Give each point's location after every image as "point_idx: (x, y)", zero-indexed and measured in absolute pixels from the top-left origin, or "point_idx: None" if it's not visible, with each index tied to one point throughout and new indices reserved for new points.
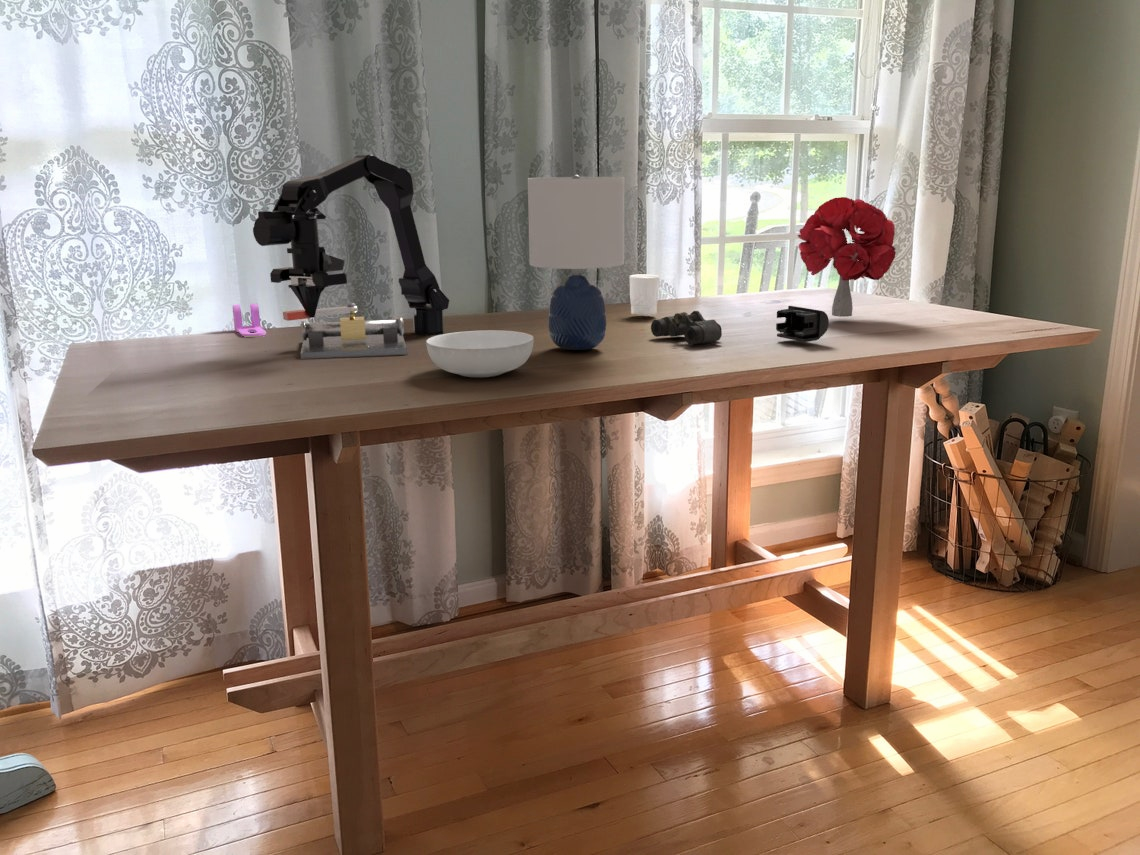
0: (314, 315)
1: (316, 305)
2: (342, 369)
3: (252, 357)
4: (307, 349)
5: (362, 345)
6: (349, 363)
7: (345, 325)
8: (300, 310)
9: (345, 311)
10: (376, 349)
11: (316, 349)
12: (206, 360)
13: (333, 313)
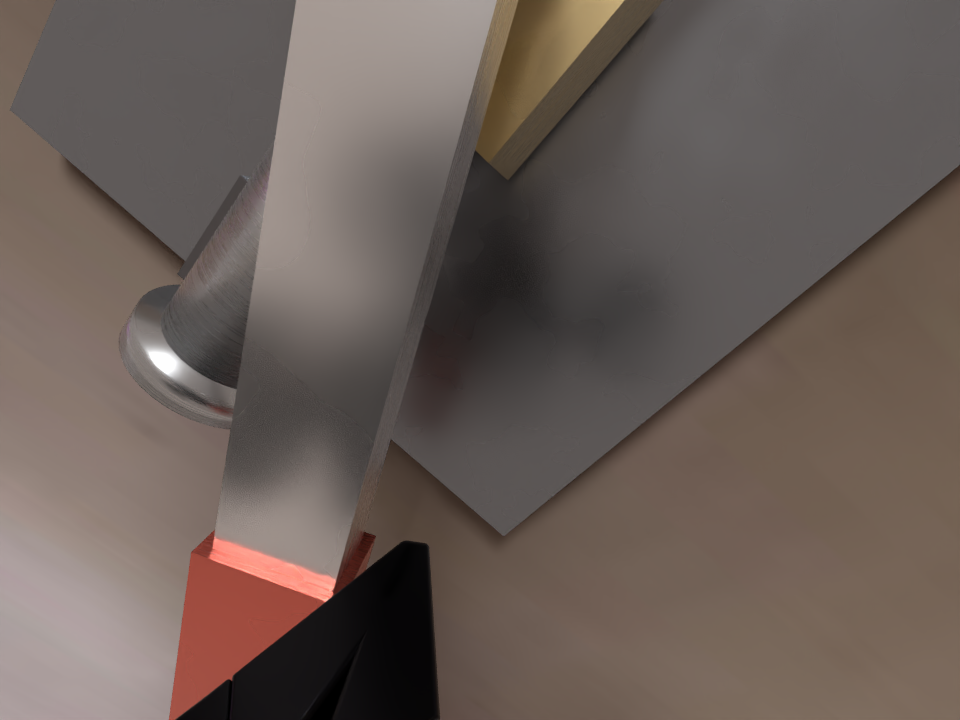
0: (427, 558)
1: (433, 672)
2: (917, 582)
3: None
4: (447, 442)
5: (706, 112)
6: (850, 452)
7: (538, 120)
8: (230, 637)
9: (505, 12)
10: (947, 173)
11: (498, 416)
12: (157, 668)
13: (441, 251)
